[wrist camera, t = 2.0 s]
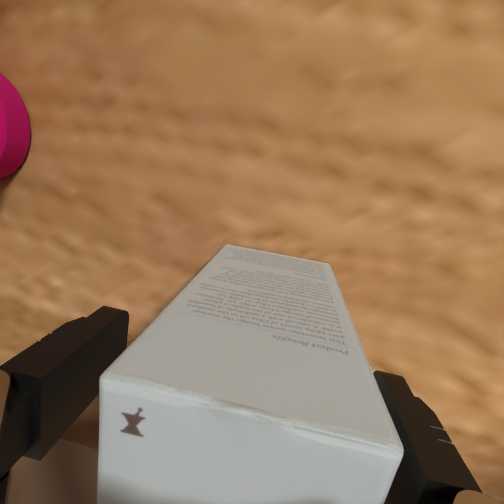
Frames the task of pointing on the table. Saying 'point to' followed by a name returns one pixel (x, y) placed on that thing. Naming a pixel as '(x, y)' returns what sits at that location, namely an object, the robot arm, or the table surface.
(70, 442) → the walnut block
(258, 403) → the skincare box
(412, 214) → the table surface
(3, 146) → the pepper mill
